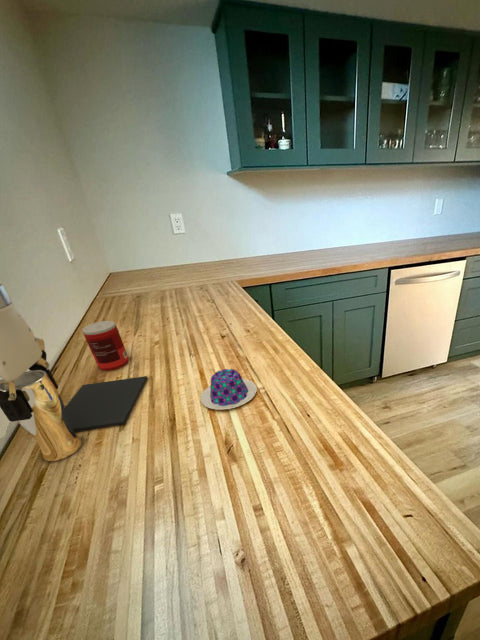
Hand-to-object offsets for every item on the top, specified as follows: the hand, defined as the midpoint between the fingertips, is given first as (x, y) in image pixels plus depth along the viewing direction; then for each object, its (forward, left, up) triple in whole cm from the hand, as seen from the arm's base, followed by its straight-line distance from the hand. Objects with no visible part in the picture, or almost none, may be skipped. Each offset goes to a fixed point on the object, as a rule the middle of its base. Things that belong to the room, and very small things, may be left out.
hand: (36, 403), depth 56 cm
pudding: (+30, +10, -11) cm, 33 cm away
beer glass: (0, 0, -11) cm, 11 cm away
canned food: (-2, +34, -11) cm, 36 cm away
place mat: (+2, +14, -10) cm, 18 cm away
